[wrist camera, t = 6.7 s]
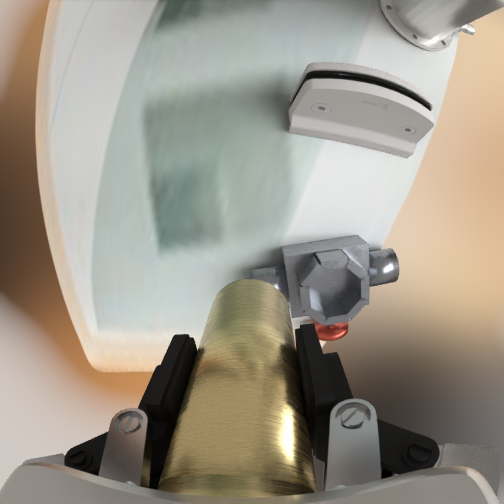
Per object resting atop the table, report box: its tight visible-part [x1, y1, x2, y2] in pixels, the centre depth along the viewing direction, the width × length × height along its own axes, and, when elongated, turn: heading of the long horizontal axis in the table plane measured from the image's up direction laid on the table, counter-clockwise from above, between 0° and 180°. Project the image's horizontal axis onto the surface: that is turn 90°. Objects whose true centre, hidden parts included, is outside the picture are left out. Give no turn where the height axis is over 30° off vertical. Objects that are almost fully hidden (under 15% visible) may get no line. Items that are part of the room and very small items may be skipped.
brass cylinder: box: [157, 279, 317, 498], centre depth 9 cm, size 4×4×12 cm
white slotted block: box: [288, 62, 434, 158], centre depth 26 cm, size 17×5×10 cm, turn 84°
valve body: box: [252, 235, 399, 341], centre depth 33 cm, size 18×12×7 cm, turn 99°
